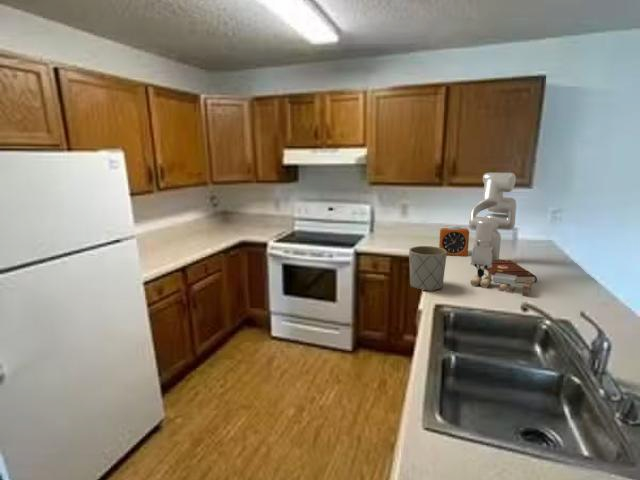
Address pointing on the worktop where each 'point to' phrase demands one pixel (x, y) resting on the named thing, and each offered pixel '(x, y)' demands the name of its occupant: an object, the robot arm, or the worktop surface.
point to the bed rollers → (483, 282)
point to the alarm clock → (454, 240)
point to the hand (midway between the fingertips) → (480, 276)
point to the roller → (504, 287)
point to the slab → (505, 278)
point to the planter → (427, 267)
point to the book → (509, 271)
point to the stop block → (527, 288)
